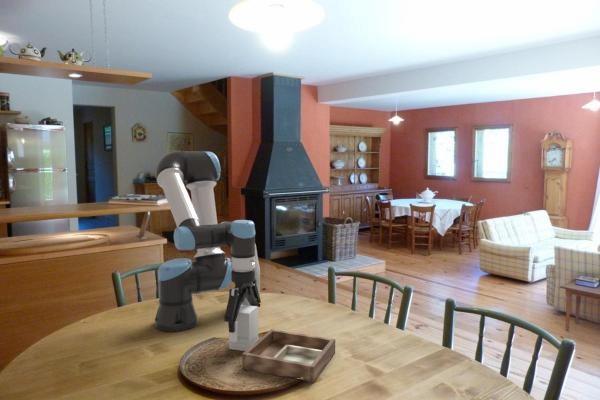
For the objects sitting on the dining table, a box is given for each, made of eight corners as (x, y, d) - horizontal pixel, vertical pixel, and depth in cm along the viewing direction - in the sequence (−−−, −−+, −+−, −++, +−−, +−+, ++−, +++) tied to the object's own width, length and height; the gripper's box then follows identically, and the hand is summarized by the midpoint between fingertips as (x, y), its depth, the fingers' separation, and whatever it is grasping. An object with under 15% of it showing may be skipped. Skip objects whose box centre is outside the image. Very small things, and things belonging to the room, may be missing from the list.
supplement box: (259, 343, 150) (258, 306, 148) (249, 352, 143) (249, 313, 141) (238, 340, 152) (238, 303, 151) (228, 349, 145) (227, 310, 144)
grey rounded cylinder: (233, 305, 187) (232, 238, 184) (258, 303, 190) (257, 237, 187) (236, 313, 178) (235, 242, 175) (262, 311, 180) (261, 241, 177)
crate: (242, 368, 132) (242, 353, 131) (271, 342, 150) (271, 329, 150) (313, 382, 124) (314, 366, 123) (335, 353, 142) (335, 339, 142)
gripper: (234, 280, 132) (234, 350, 134) (270, 261, 155) (270, 321, 157) (211, 277, 134) (212, 346, 137) (250, 259, 158) (251, 319, 160)
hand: (243, 333), depth 147 cm, fingers open, 13 cm apart
